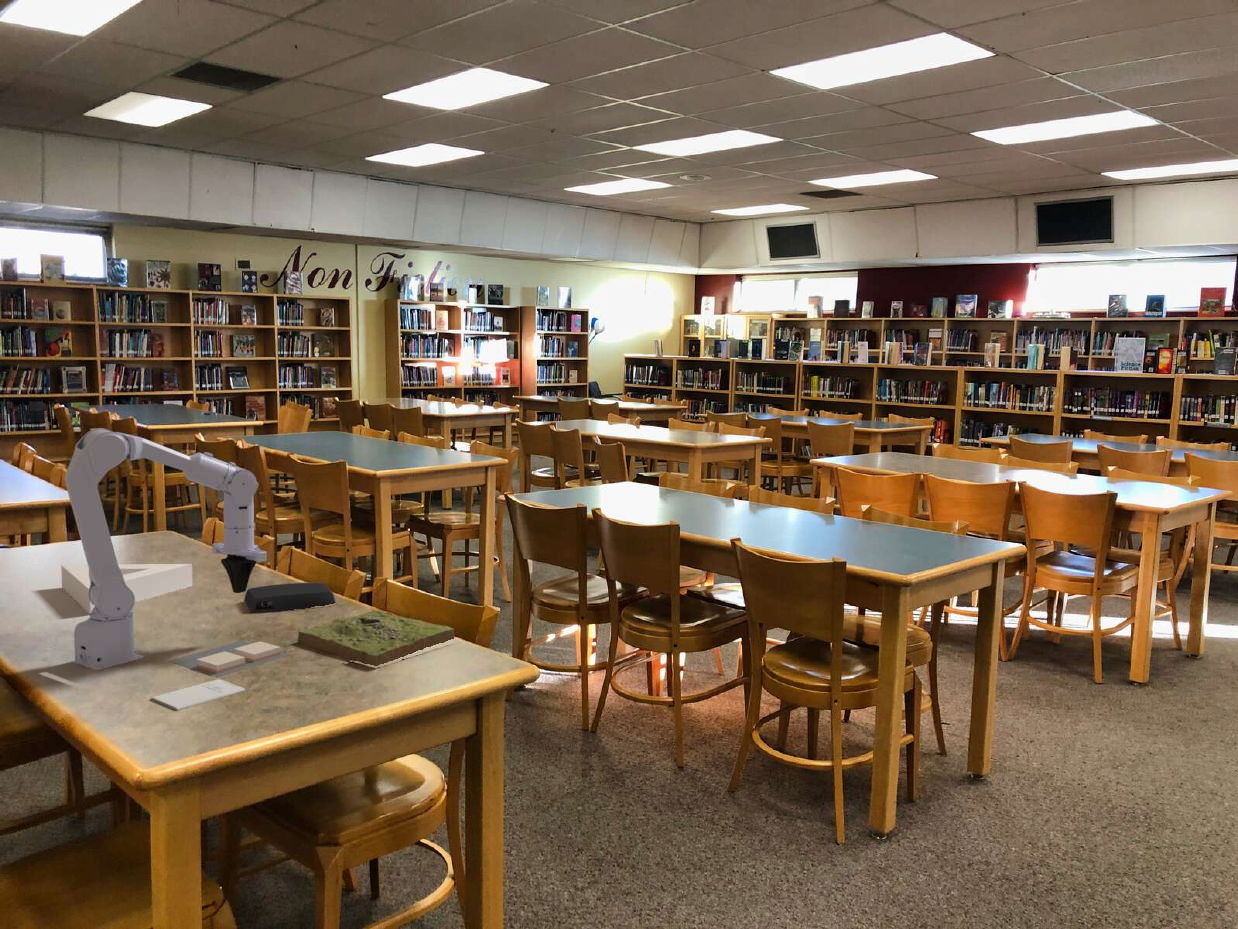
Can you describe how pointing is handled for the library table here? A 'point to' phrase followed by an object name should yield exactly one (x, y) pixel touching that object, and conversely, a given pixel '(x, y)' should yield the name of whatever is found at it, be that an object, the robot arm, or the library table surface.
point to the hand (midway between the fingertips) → (239, 591)
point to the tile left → (220, 662)
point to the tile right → (257, 651)
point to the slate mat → (191, 659)
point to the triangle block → (130, 580)
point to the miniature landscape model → (375, 637)
